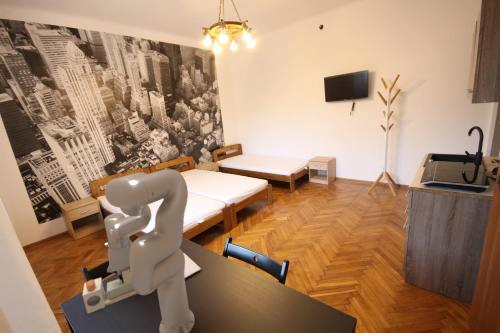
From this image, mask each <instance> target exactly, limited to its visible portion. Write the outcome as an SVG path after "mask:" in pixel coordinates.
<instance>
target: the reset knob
mask: <svg viewBox="0 0 500 333" xmlns="http://www.w3.org/2000/svg"><path fill="white" fill-rule="evenodd" d="M94 280H95V279H90V280H88V281H86V282H85V283H86V288H87V291H92V290H94V289H95V288H96V285H95V281H94Z"/></svg>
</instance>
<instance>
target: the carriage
mask: <svg viewBox="0 0 500 333" xmlns="http://www.w3.org/2000/svg"><path fill="white" fill-rule="evenodd" d="M121 271H122V276H123V281H124V282H123V283H122V280H120V279H119V278H117V279H115V280H112V281H109V282H107V283H106V292H107V295H108V297H109V299H111V298H114V297H116V296H119V295H121V294H124V293H127V292H129V291H132V290H134V288H133V286H132V282H131V276H130V266H129V267H127V268H124V269H121Z"/></svg>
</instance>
